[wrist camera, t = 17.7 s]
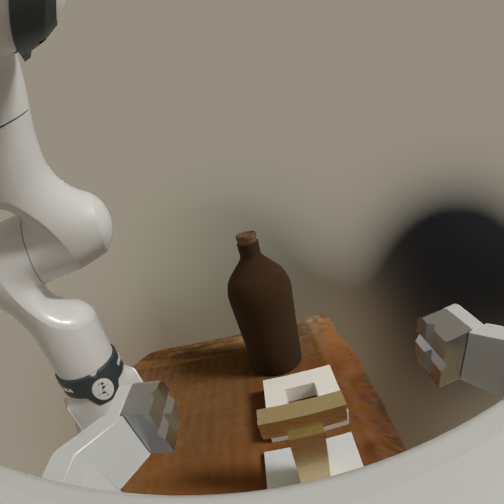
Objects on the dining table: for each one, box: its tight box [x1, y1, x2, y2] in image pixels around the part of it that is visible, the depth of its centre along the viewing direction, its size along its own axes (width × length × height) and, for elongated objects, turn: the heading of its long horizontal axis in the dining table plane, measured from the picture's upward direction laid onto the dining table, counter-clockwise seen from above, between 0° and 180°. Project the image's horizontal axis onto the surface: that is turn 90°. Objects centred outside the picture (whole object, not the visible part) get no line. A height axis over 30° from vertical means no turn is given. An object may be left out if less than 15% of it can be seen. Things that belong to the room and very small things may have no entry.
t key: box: [257, 390, 347, 483], centre depth 27 cm, size 8×3×14 cm, turn 92°
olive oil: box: [228, 231, 301, 376], centre depth 52 cm, size 11×11×25 cm
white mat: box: [264, 432, 364, 489], centre depth 29 cm, size 12×12×1 cm
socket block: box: [263, 365, 349, 443], centre depth 41 cm, size 11×11×3 cm
